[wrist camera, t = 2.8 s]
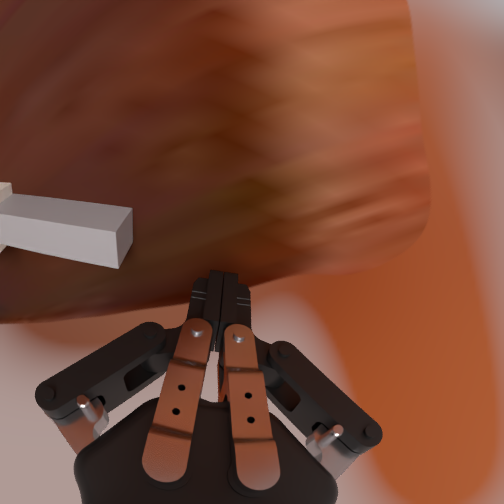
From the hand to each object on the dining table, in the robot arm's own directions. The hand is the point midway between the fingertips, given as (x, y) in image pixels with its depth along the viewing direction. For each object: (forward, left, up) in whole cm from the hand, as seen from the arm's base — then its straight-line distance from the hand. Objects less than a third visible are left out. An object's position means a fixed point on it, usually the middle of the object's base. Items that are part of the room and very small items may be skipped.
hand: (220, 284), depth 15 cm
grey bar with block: (-8, -13, -4) cm, 15 cm away
